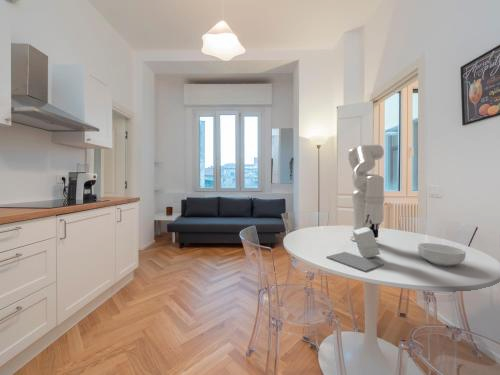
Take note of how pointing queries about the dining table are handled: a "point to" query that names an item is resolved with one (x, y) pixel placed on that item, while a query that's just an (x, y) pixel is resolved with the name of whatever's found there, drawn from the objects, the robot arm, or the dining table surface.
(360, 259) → the mat
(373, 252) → the supplement box
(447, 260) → the cereal bowl
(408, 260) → the dining table surface
